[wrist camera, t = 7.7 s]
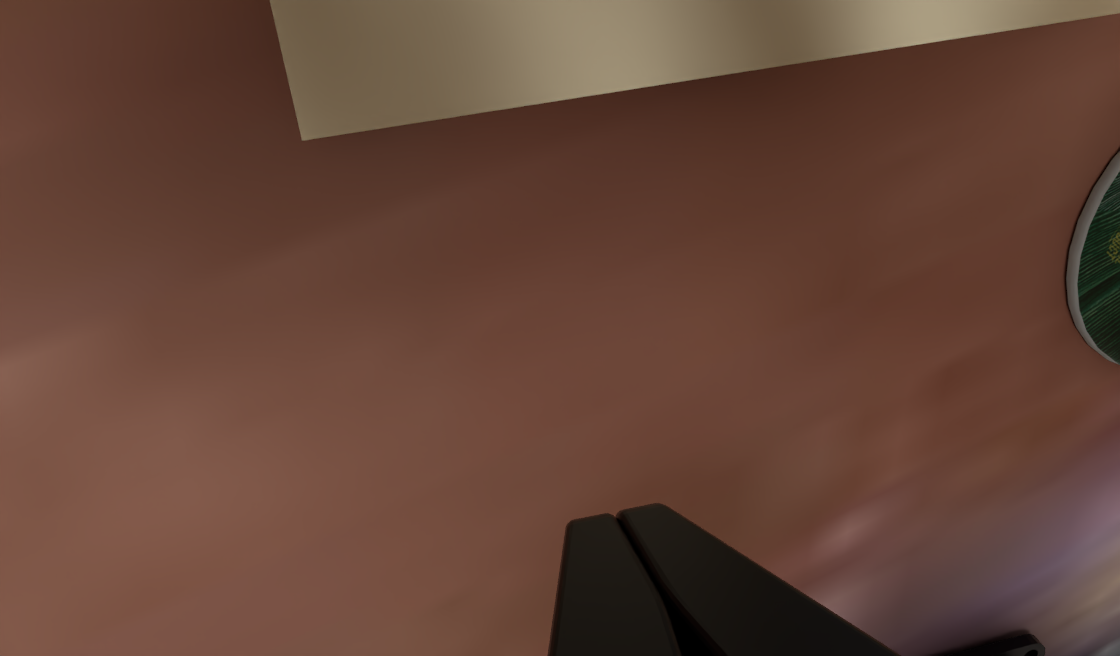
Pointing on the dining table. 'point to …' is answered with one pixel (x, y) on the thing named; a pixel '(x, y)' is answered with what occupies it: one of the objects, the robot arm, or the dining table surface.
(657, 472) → the dining table surface
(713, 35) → the board
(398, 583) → the dining table surface
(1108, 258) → the canned tomato
